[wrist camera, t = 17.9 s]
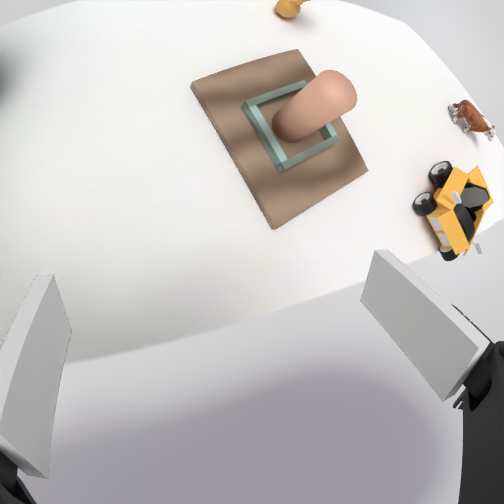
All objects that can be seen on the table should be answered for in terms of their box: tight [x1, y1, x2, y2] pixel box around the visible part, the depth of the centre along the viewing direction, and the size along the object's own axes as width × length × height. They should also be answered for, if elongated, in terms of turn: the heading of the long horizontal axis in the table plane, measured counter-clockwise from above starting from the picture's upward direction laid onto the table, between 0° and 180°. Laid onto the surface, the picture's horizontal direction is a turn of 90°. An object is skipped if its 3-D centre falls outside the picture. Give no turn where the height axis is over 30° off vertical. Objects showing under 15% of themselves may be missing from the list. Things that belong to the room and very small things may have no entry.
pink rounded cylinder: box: [272, 70, 357, 143], centre depth 33 cm, size 5×5×12 cm
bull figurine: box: [449, 100, 496, 141], centre depth 52 cm, size 4×13×8 cm, turn 66°
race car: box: [413, 161, 493, 261], centre depth 47 cm, size 15×15×11 cm
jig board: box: [191, 49, 368, 229], centre depth 39 cm, size 22×18×4 cm
